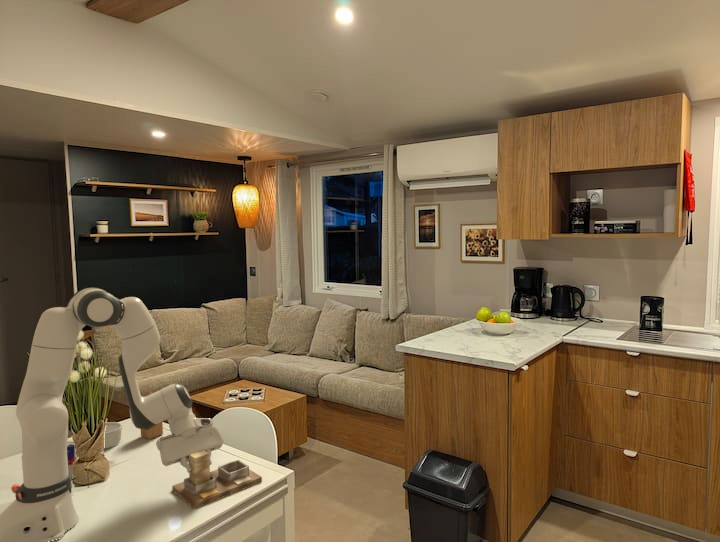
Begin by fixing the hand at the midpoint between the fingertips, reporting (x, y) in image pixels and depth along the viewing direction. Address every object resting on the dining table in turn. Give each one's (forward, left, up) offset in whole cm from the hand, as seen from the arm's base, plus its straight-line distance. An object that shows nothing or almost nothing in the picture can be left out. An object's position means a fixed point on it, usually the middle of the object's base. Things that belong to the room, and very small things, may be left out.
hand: (200, 468), depth 163 cm
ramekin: (-10, +66, -9) cm, 67 cm away
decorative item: (+7, +61, -9) cm, 62 cm away
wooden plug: (0, +1, -5) cm, 5 cm away
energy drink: (-28, +44, -9) cm, 53 cm away
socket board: (+6, +1, -8) cm, 10 cm away
